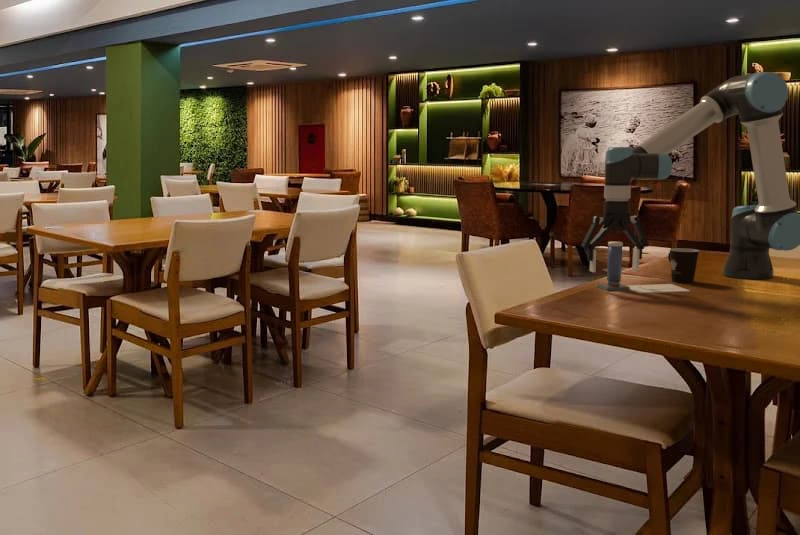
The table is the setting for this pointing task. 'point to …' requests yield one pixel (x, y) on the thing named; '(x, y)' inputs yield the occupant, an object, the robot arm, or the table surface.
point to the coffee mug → (683, 264)
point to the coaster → (613, 287)
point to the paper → (657, 288)
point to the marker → (614, 263)
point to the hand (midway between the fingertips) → (614, 271)
